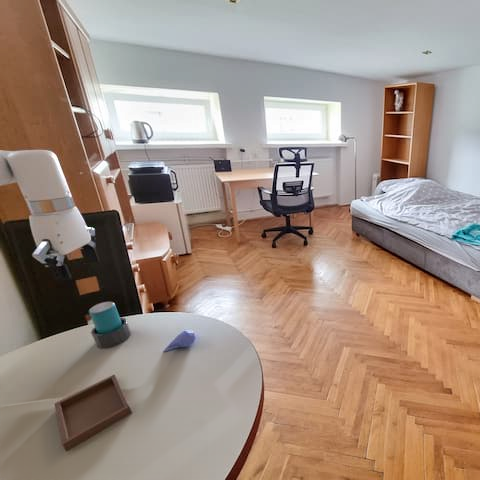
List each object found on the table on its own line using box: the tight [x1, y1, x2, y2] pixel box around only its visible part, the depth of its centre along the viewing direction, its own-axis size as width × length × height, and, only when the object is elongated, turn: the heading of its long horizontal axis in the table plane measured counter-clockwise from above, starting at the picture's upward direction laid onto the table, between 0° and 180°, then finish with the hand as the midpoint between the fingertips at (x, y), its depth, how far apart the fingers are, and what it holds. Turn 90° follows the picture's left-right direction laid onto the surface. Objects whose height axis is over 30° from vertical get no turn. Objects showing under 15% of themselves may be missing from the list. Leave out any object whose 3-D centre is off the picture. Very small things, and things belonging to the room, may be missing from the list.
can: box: [88, 301, 122, 334], centre depth 83 cm, size 6×6×11 cm
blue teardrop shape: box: [162, 329, 197, 353], centre depth 82 cm, size 8×6×6 cm
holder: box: [90, 317, 132, 349], centre depth 84 cm, size 8×8×5 cm
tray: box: [54, 374, 133, 452], centre depth 63 cm, size 14×11×2 cm
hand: (79, 270), depth 73 cm, fingers open, 9 cm apart
